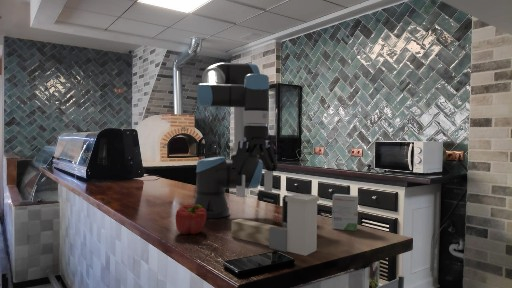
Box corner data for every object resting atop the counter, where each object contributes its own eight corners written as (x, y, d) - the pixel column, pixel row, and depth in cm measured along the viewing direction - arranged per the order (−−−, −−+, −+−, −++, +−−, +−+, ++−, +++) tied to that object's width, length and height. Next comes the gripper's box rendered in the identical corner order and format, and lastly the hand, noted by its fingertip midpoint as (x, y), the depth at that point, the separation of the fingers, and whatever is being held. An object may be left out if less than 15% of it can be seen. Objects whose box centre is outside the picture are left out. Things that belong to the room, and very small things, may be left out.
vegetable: (214, 233, 118) (214, 203, 118) (188, 239, 111) (188, 207, 111) (194, 227, 126) (195, 199, 126) (168, 232, 118) (168, 202, 118)
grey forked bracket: (269, 247, 104) (270, 194, 103) (284, 242, 110) (284, 192, 109) (305, 256, 96) (306, 199, 96) (319, 250, 102) (319, 196, 102)
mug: (297, 226, 129) (298, 201, 129) (277, 220, 139) (277, 196, 139) (317, 223, 134) (317, 199, 134) (295, 217, 144) (296, 194, 144)
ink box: (331, 229, 127) (332, 195, 126) (333, 225, 131) (333, 193, 131) (356, 231, 124) (357, 196, 124) (357, 227, 129) (358, 194, 128)
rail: (231, 236, 115) (231, 220, 115) (239, 233, 118) (239, 218, 118) (285, 249, 102) (285, 232, 102) (293, 246, 105) (293, 229, 105)
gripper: (238, 124, 99) (237, 201, 100) (288, 126, 119) (287, 190, 120) (218, 124, 104) (217, 197, 105) (270, 125, 123) (269, 187, 124)
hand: (254, 193), depth 112 cm, fingers open, 13 cm apart
